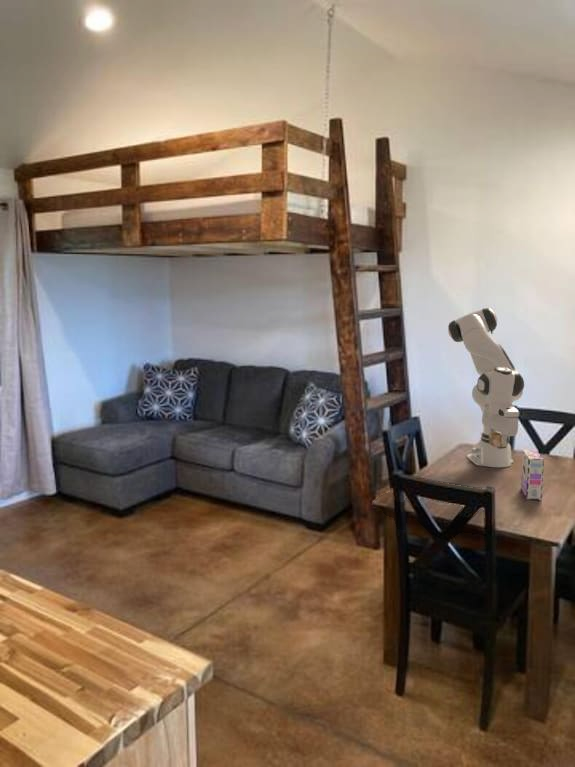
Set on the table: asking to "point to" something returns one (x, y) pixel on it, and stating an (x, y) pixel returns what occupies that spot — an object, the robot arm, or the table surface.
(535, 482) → the candy box
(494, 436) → the maple cube
